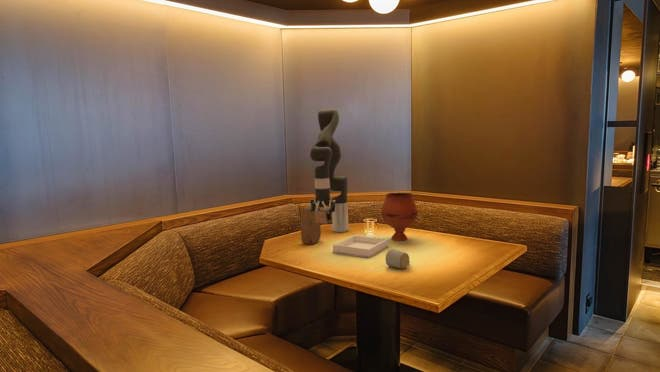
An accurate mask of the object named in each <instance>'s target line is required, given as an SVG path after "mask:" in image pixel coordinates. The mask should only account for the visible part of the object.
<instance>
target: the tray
mask: <svg viewBox="0 0 660 372" xmlns="http://www.w3.org/2000/svg"><path fill="white" fill-rule="evenodd" d="M389 242H390V241H389V238H385V237H376V236H375V237H374V236H365V235H355V234H353V235H351V236H349V237H347V238H345V239H343V240H340V241H338V242H336V243H333V244H332V253H333V254H337V255H338V254H340V255H346V256H347V255H348V256H351V257H352V256H353V257H354V256H355V257H359V256H360V258H366V259H369V258H372V257H374V256H375V255H377V254H379V253H380V252H382V251H383V250H386V249H387V248H389V247H390V246H389Z"/></svg>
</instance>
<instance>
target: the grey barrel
mask: <svg viewBox="0 0 660 372" xmlns="http://www.w3.org/2000/svg"><path fill="white" fill-rule="evenodd" d="M410 263H411V261H410V256H409V254H408V253H407V252H405V251H401V250H399V249H394V248H389V250H388V251H387V252H386V254H385V264H386V265H387V266H389V267H392V268H395V269H401V270H405V269H406V268H407V267H408V266H409V265H410Z"/></svg>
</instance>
